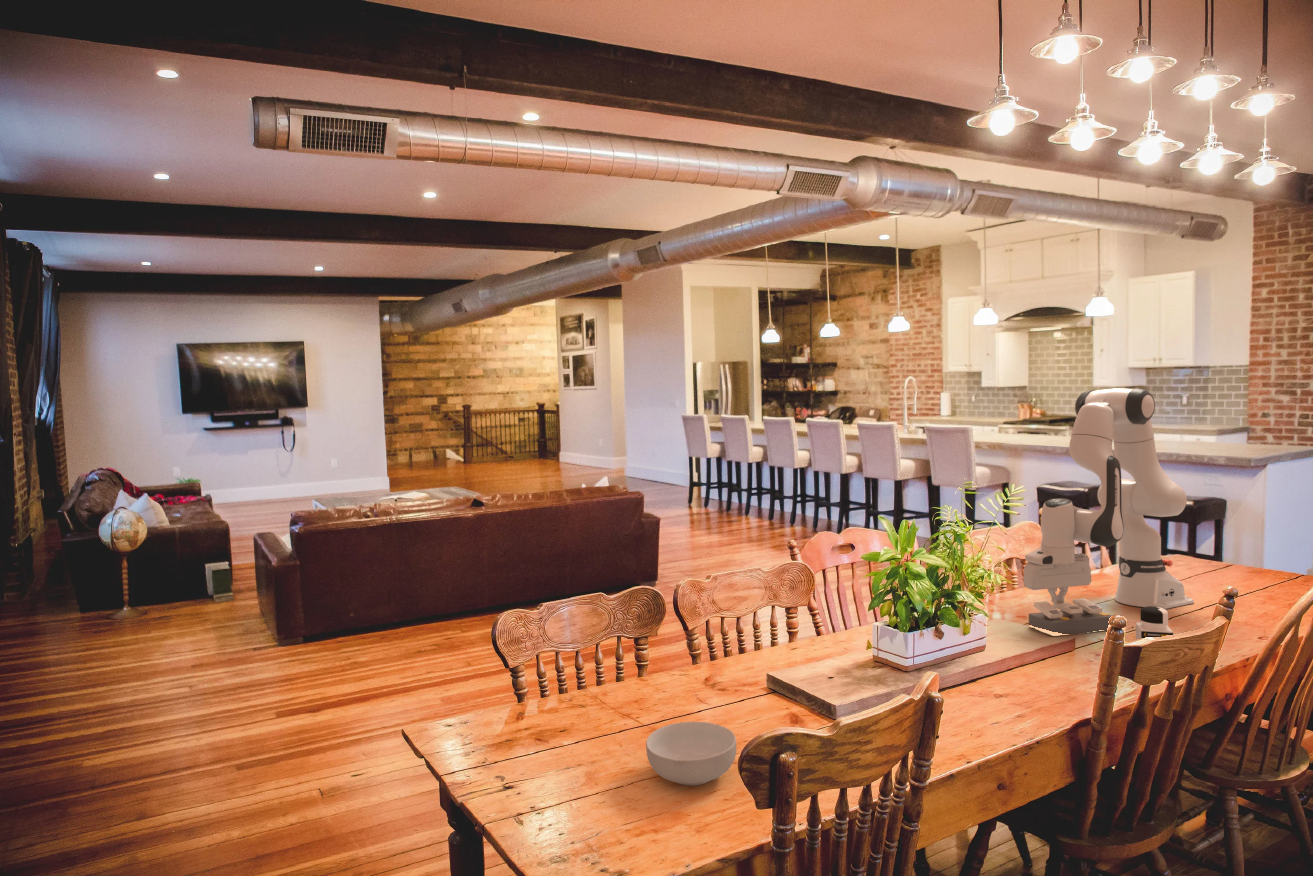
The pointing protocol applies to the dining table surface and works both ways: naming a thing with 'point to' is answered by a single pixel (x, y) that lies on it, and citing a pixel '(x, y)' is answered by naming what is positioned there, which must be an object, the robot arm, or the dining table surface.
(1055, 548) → the robot arm
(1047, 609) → the rocker
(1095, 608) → the rocker
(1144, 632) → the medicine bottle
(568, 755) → the dining table surface
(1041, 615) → the switch unit
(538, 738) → the dining table surface
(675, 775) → the cereal bowl
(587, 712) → the dining table surface
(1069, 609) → the rocker
